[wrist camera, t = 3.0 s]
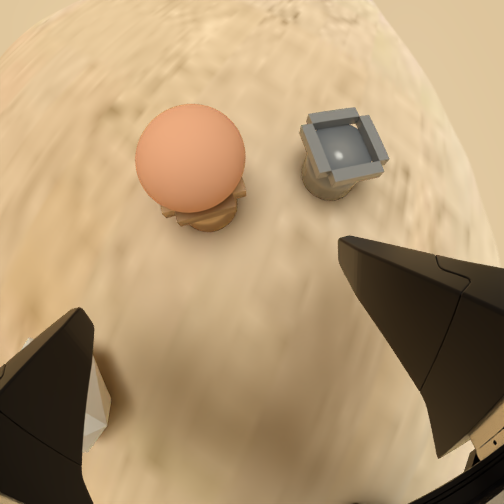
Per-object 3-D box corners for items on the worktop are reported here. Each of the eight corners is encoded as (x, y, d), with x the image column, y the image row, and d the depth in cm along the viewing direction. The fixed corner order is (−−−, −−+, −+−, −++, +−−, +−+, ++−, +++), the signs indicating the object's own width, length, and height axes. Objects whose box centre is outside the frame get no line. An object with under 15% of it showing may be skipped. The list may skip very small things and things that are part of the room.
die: (113, 327, 24) (-2, 307, 16) (154, 422, 18) (10, 427, 10) (83, 382, 25) (-11, 373, 18) (114, 463, 20) (6, 470, 12)
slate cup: (366, 197, 25) (393, 169, 19) (308, 211, 24) (323, 184, 19) (344, 143, 25) (364, 106, 20) (288, 154, 25) (297, 115, 19)
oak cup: (250, 226, 24) (249, 202, 18) (184, 244, 24) (164, 225, 18) (233, 167, 25) (228, 130, 19) (171, 184, 25) (151, 152, 19)
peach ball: (263, 162, 20) (267, 107, 14) (214, 242, 19) (196, 213, 13) (186, 125, 20) (167, 69, 14) (136, 197, 19) (96, 157, 13)
